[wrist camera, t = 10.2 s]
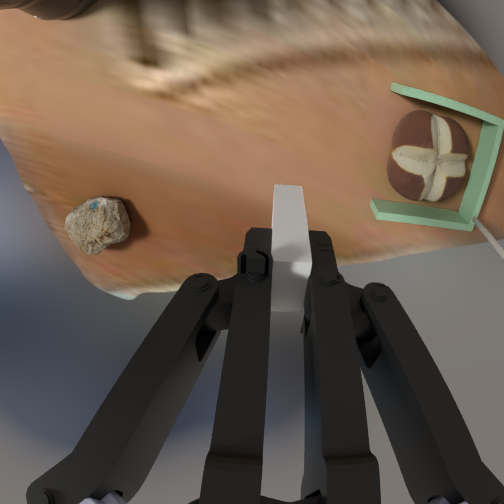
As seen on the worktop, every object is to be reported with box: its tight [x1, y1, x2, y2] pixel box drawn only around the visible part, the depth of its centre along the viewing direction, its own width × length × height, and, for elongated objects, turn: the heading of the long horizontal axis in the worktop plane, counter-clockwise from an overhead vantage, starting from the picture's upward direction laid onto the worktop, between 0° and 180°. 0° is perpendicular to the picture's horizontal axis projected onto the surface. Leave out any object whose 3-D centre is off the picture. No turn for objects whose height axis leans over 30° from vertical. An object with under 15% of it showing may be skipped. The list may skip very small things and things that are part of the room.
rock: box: [65, 196, 131, 255], centre depth 40 cm, size 8×11×4 cm
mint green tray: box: [370, 82, 504, 260], centre depth 25 cm, size 16×15×16 cm
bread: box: [387, 110, 468, 202], centre depth 30 cm, size 11×11×5 cm
